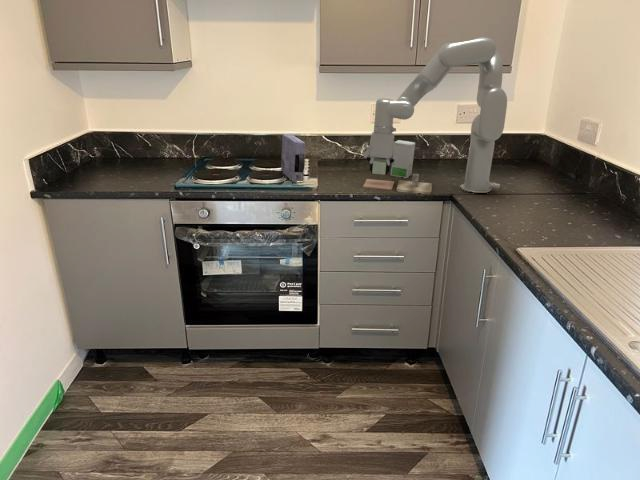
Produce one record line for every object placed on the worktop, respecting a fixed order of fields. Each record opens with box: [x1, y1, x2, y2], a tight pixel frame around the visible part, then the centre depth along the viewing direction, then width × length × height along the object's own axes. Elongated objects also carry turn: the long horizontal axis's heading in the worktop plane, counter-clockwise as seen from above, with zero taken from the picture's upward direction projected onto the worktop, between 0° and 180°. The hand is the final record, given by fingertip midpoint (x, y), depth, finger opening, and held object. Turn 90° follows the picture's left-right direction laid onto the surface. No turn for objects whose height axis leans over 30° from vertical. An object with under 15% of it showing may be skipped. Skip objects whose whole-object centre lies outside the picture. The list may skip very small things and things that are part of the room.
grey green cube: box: [371, 158, 387, 175], centre depth 208 cm, size 5×5×5 cm
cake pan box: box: [280, 133, 306, 183], centre depth 215 cm, size 19×5×18 cm, turn 22°
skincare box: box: [390, 139, 416, 179], centre depth 224 cm, size 8×7×16 cm
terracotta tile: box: [362, 178, 395, 191], centre depth 211 cm, size 12×12×1 cm
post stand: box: [395, 173, 433, 196], centre depth 207 cm, size 14×14×6 cm
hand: (379, 172), depth 210 cm, fingers closed on grey green cube, 5 cm apart
